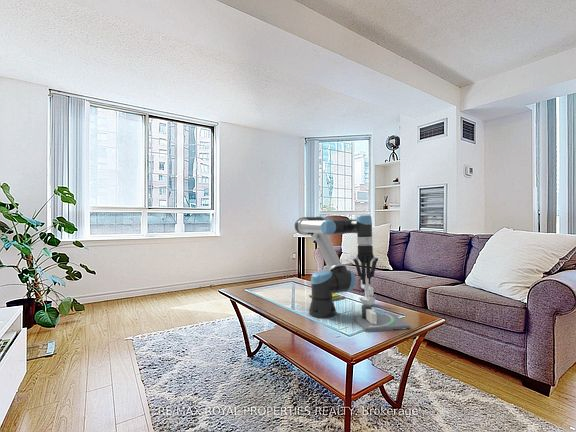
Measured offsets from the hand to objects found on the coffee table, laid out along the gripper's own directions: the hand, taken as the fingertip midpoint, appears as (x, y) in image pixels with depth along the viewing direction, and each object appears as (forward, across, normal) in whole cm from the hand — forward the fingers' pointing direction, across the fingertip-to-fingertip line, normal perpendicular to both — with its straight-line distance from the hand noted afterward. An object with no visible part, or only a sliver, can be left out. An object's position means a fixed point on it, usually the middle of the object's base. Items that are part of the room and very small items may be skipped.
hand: (366, 290), depth 155 cm
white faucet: (+16, +11, +29) cm, 35 cm away
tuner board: (+16, +5, -5) cm, 17 cm away
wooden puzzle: (+16, -10, +50) cm, 54 cm away
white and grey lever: (+14, 0, -4) cm, 15 cm away
